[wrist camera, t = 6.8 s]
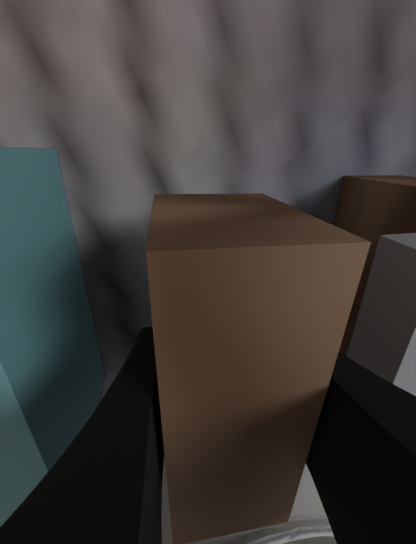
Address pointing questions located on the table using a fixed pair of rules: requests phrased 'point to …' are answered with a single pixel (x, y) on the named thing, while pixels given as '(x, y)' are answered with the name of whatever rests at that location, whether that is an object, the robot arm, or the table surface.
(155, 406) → the robot arm
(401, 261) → the slab
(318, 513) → the teacup
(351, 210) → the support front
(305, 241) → the support
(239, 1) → the table surface
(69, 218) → the stop block
